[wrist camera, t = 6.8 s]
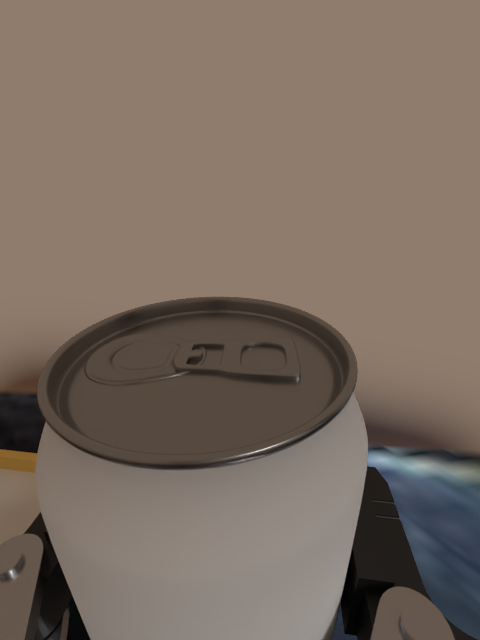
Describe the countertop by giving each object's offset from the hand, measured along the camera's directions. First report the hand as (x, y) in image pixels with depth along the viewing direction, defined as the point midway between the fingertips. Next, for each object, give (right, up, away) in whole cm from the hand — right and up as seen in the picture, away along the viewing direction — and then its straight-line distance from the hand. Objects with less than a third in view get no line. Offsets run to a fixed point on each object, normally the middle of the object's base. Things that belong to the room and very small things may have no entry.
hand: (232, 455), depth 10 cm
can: (0, -7, +1) cm, 7 cm away
